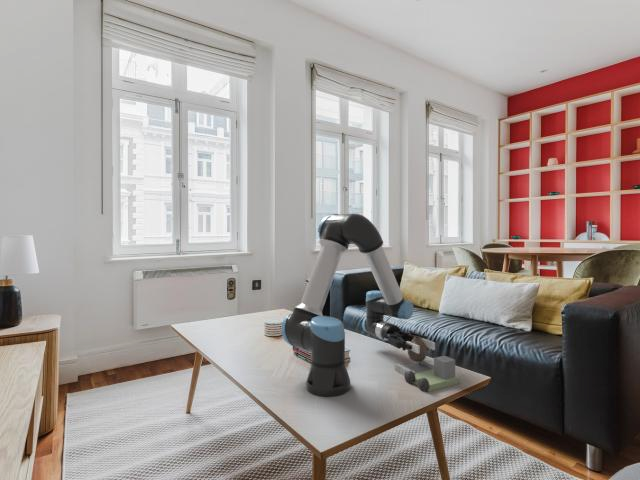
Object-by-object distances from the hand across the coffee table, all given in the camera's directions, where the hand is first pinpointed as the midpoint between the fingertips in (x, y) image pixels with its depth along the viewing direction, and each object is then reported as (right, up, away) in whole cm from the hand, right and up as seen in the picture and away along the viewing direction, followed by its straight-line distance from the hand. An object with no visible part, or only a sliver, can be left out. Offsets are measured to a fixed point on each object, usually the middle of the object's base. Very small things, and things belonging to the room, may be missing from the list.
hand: (426, 348), depth 141 cm
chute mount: (-2, -10, +5) cm, 12 cm away
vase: (-2, -6, +5) cm, 8 cm away
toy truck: (+1, -11, -5) cm, 12 cm away
